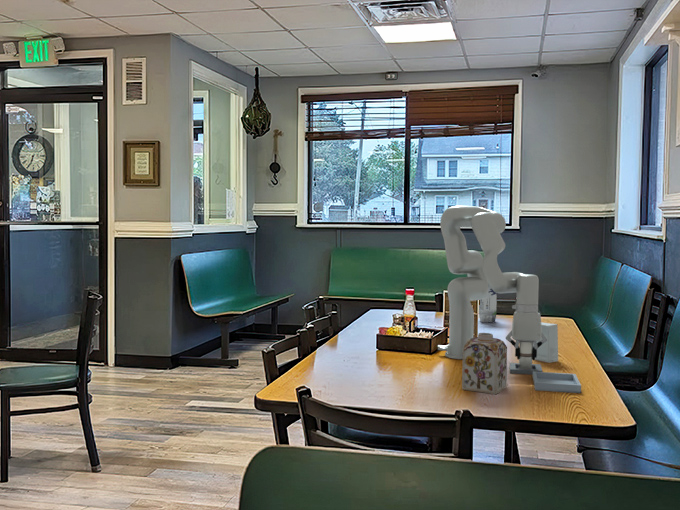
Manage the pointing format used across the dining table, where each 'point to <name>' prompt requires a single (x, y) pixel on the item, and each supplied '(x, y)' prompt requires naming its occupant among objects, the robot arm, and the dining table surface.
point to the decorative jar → (484, 364)
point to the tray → (556, 382)
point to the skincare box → (548, 343)
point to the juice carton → (488, 306)
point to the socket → (515, 369)
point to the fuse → (525, 354)
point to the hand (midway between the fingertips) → (525, 358)
